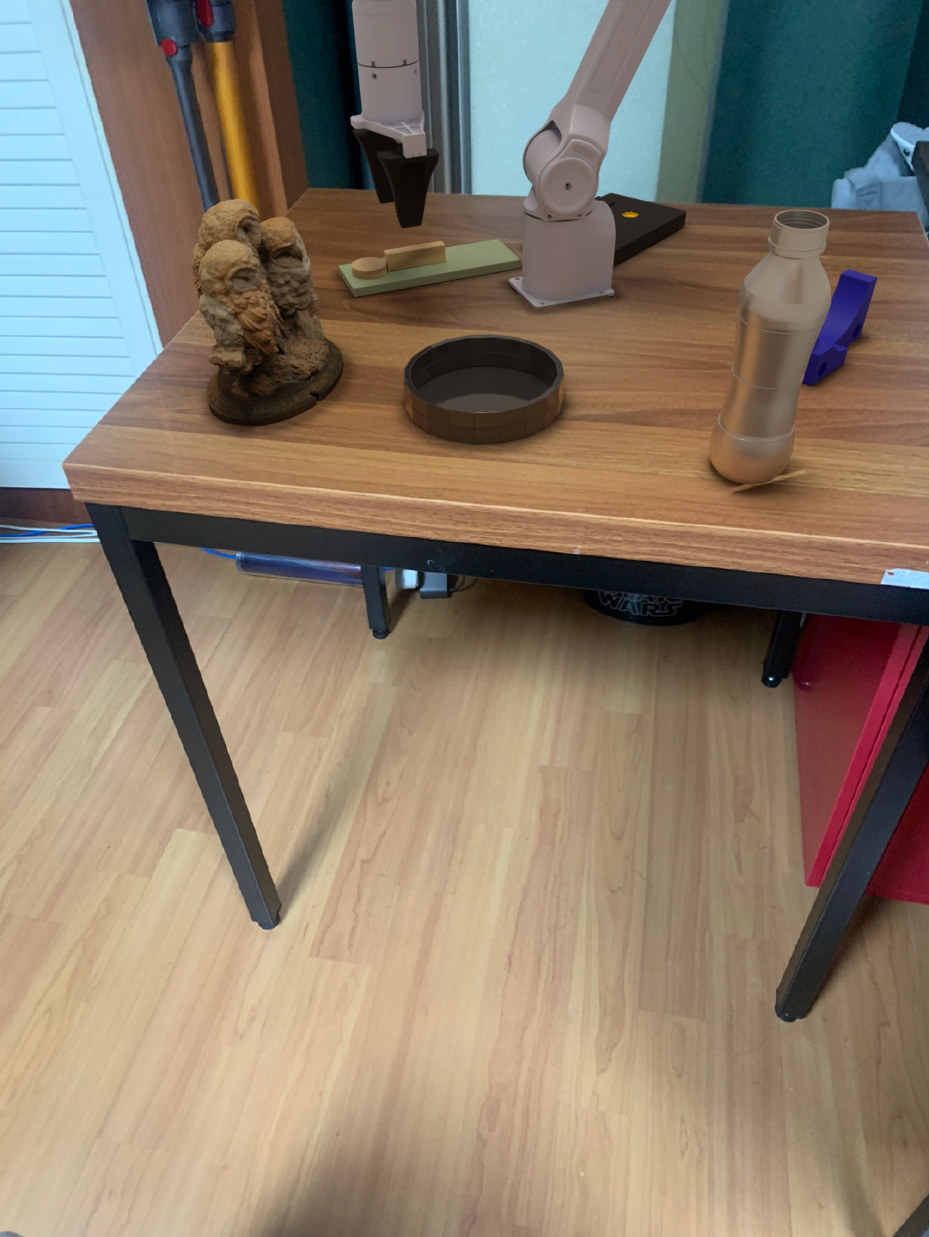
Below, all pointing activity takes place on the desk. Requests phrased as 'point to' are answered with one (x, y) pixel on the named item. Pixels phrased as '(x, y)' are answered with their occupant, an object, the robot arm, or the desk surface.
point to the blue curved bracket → (840, 324)
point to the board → (438, 268)
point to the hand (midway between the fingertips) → (399, 213)
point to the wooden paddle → (399, 260)
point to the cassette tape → (640, 223)
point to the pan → (483, 388)
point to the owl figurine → (260, 317)
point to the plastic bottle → (772, 350)
